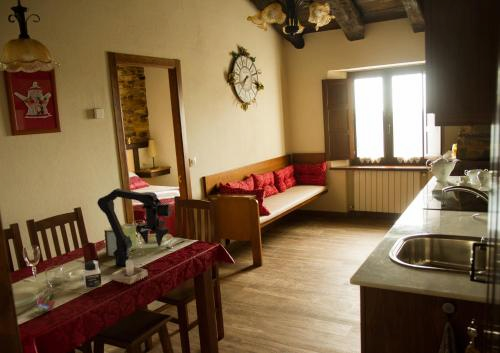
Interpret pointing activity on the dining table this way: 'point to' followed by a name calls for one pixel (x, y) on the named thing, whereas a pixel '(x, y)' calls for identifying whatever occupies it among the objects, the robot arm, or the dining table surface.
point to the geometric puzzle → (45, 303)
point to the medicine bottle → (92, 275)
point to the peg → (129, 268)
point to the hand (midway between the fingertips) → (152, 244)
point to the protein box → (111, 239)
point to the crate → (122, 277)
